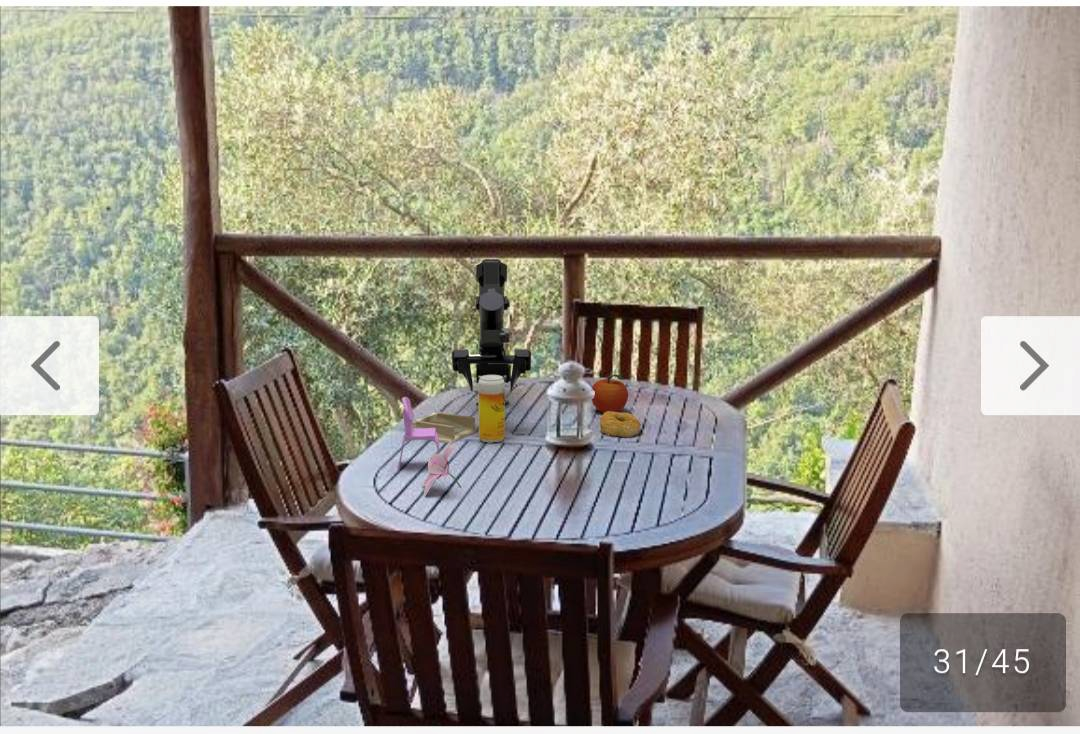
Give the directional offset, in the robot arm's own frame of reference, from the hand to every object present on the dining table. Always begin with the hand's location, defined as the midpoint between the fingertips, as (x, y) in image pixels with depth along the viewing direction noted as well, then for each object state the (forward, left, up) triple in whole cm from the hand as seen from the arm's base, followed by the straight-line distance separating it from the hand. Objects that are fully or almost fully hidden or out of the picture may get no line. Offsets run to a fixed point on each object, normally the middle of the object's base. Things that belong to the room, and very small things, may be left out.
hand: (491, 390), depth 251 cm
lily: (+38, +11, -11) cm, 41 cm away
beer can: (+3, +2, -11) cm, 12 cm away
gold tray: (+4, -11, -11) cm, 16 cm away
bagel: (-18, +25, -12) cm, 33 cm away
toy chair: (+27, -2, -11) cm, 29 cm away
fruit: (-34, +15, -11) cm, 39 cm away
